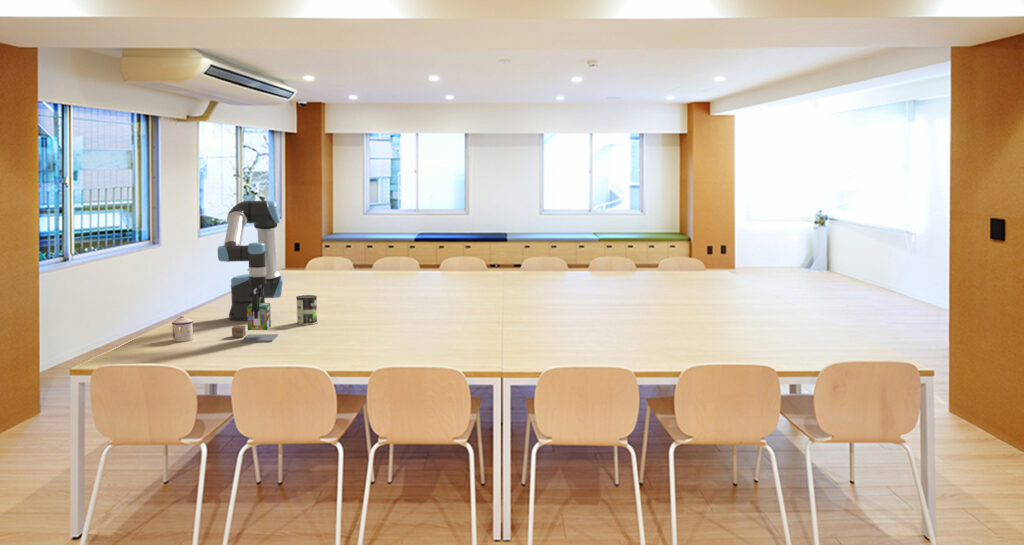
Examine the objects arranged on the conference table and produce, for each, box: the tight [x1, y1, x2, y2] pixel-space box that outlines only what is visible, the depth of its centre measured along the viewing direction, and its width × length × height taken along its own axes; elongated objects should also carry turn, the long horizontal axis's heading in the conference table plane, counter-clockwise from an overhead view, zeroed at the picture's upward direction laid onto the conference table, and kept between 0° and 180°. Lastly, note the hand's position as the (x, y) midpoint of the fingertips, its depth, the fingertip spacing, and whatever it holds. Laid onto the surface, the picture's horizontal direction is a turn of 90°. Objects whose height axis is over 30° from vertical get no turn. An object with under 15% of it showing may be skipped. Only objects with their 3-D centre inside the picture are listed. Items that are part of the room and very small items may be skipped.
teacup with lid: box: [171, 314, 194, 343], centre depth 365 cm, size 12×9×12 cm
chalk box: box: [246, 297, 272, 331], centre depth 369 cm, size 9×9×15 cm
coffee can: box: [295, 294, 318, 326], centre depth 409 cm, size 10×10×14 cm
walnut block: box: [231, 325, 247, 338], centre depth 375 cm, size 5×5×5 cm
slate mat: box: [240, 333, 279, 343], centre depth 371 cm, size 14×14×1 cm
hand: (259, 323), depth 370 cm, fingers closed on chalk box, 9 cm apart
